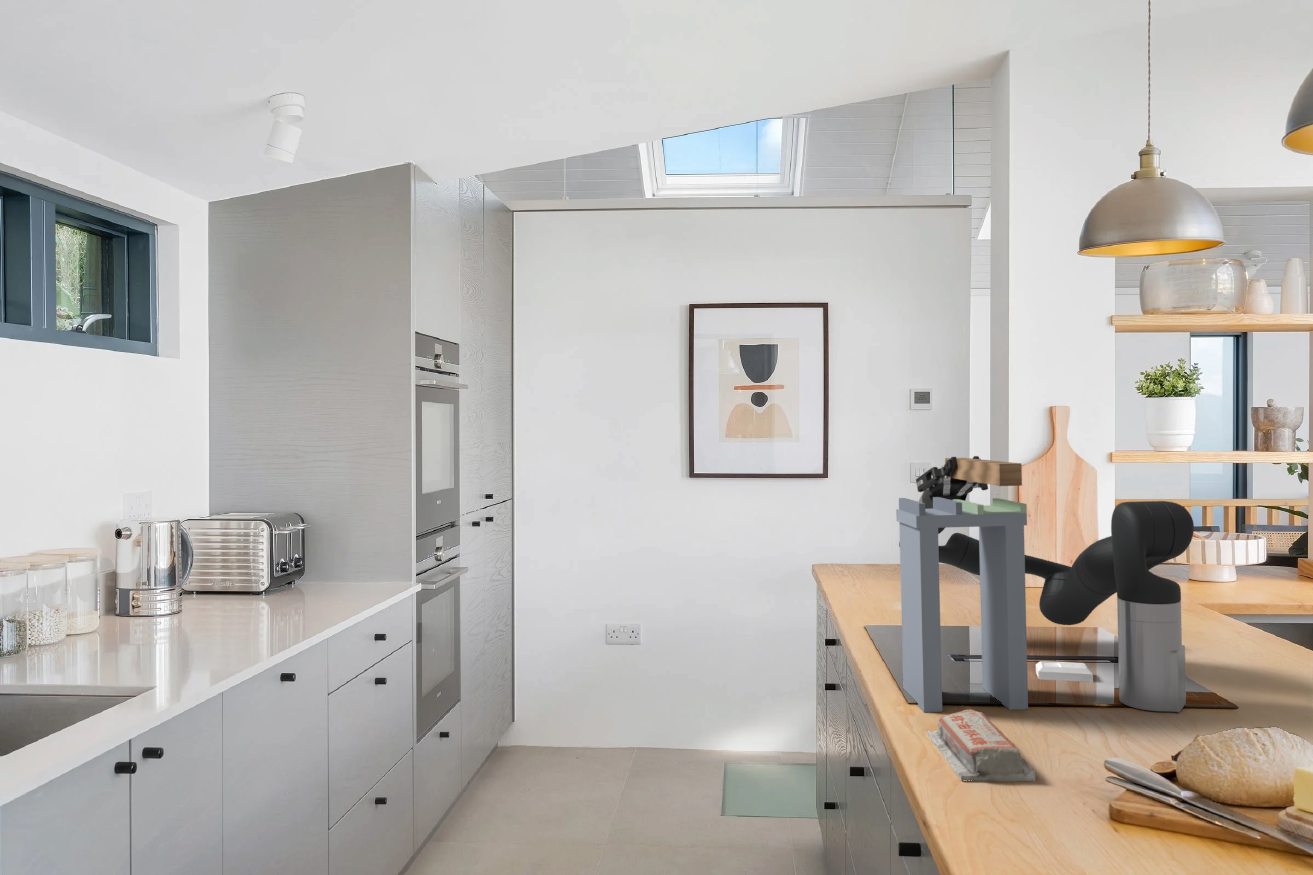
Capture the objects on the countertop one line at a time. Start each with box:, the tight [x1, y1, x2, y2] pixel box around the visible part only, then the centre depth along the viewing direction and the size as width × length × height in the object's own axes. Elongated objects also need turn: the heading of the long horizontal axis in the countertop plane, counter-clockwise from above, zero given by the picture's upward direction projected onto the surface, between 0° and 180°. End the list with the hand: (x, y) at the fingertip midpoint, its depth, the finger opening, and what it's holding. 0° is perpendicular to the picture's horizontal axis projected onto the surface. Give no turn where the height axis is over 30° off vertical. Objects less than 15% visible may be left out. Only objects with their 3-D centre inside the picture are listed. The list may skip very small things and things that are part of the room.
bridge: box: [895, 497, 1029, 713], centre depth 152 cm, size 12×18×34 cm, turn 90°
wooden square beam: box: [944, 457, 1023, 487], centre depth 155 cm, size 26×4×4 cm, turn 1°
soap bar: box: [1035, 660, 1094, 683], centre depth 165 cm, size 5×9×3 cm, turn 73°
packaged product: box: [927, 709, 1037, 782], centre depth 127 cm, size 18×5×10 cm
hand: (966, 461), depth 162 cm, fingers closed on wooden square beam, 3 cm apart
